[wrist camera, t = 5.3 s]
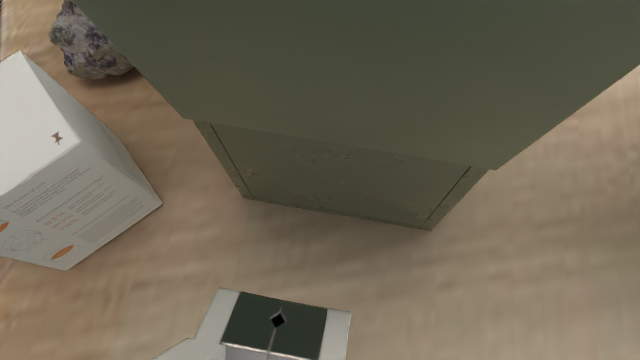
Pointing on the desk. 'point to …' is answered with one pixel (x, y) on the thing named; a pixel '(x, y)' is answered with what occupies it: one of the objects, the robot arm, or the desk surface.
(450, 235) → the desk surface
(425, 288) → the desk surface
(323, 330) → the robot arm
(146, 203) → the small box
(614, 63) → the bin lid
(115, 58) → the mineral rock
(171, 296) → the desk surface
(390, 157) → the bin
